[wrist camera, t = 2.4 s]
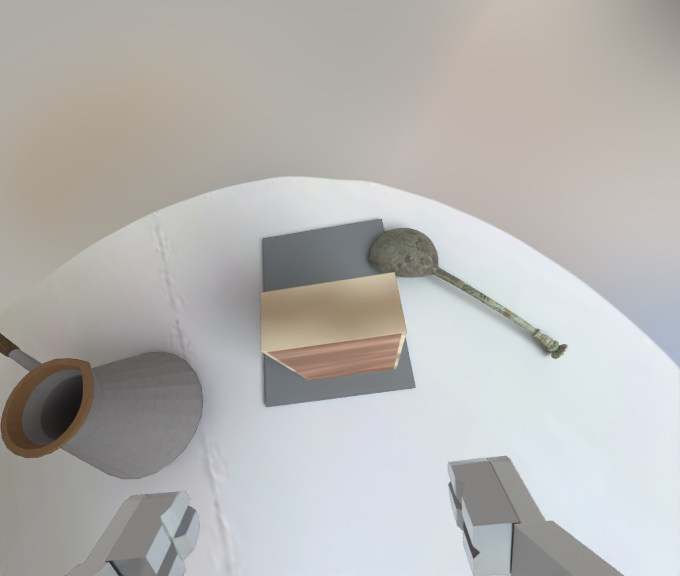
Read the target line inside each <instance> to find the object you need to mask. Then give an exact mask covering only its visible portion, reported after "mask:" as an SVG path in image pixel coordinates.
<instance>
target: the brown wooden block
mask: <svg viewBox="0 0 680 576" xmlns="http://www.w3.org/2000/svg"><path fill="white" fill-rule="evenodd" d="M406 333H407V330H406V325H405V320H404V315H403V310H402V305H401V300H400V295H399V290H398V286H397V281H396V276H395V272H393V273H386V274H380V275H373V276H367V277H360V278H354V279H347V280H340V281H334V282H327V283H321V284H314V285H308V286H301V287H295V288H288V289H281V290H275V291H268V292H262V293H261V352H262V353H264V354H266V355H267V356H269V357H271V358H272V359H274V360H276V361H277V362H279V363H280V364H282V365H284V366H285V367H287V368H289V369H290V370H292V371H294V372H295V373H297V374H298V375H300V376H302V377H303V378H305V379H307V380H308V381H309V380H316V379H324V378H331V377H339V376H346V375H354V374H361V373H369V372H376V371H384V370H391V369H396V368H397V365H398V361H399V358H400V354H401V351H402V347H403V343H404V340H405V336H406Z"/></svg>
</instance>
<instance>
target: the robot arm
mask: <svg viewBox="0 0 680 576" xmlns="http://www.w3.org/2000/svg"><path fill="white" fill-rule="evenodd" d="M448 474H449V477H450V480H451V482H450V483H449V484H448V486H449V495H450V501H451V506H452V510H453V514H454V517H455V520H456V524H457V526H458V527H459V528H460V529H461V530H462V531H463V546H464V549H465V552H466V555H467V558H468V561H469V564H470V567H471V570H472V574H473V576H503V575H511V576H624V575H623V574H621V573H620V572H619V571H617V570H616V569H615V568H614V567H612V566H611V565H610V564H608V563H607V562H606V561H604V560H603V559H602V558H601V557H599V556H598V555H597V554H595V553H594V552H593V551H591V550H590V549H589V548H588V547H586V546H585V545H584V544H582V543H581V542H580V541H578V540H577V539H576V538H574V537H573V536H572V535H571V534H569V533H568V532H567V531H565V530H564V529H563V528H561V527H560V526H559V525H558V524H556V523H555V522H554V521H546V520H545V519H544V517H543V515H542V513H541V512H540V510H539V508H538V506H537V505H536V503H535V501H534V500H533V498H532V496H531V494H530V493H529V491H528V489H527V487H526V486H525V484H524V482H523V480H522V479H521V477H520V475H519V473H518V472H517V470H516V468H515V466H514V465H513V463H512V461H511V459H509V458H508V457H507V456H499V457H491V458H478V459H469V460H461V461H453V462H448ZM190 500H191V499H190V497H189V495H188V493H187V491H182V492H169V493H156V494H144V495H134V496H130V497H129V498H128V499H127V500H126V501H125V502H124V503H123V505H122V506H121V508H120V509H119V511H118V512H117V514H116V515H115V517H114V518H113V520H112V521H111V523H110V524H109V526H108V528H107V529H106V531H105V532H104V534H103V535H102V537H101V538H100V540H99V541H98V543H97V544H96V546H95V547H94V549H93V551H92V552H91V554H90V555H89V557H88V558H87V560H86V561H85V563H84V564H81V565H77V566H76V567H75V568H74V569H73V570H71V571H70V572H69V573H68V574H67V575H66V576H184V573H185V571H186V569H185V563H184V560H185V559H186V558H187V557H188V556H189V554H190V553H191V552H192V551H193V550H194V547H195V544H196V542H197V539H198V534H199V527H200V522H199V516H198V513H197V511H196V510H195V509H194V508H192V507H190V506H189V505H188V504H189V502H190Z"/></svg>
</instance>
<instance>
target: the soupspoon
mask: <svg viewBox="0 0 680 576" xmlns="http://www.w3.org/2000/svg"><path fill="white" fill-rule="evenodd" d="M369 259H370V262H371V263H372V264H373V266H374V267H376V268H377V269H379V270H380V271H382V272H384V273H393V272H395V276H399V277H423V276H427V275H431V274H434V275H436V276H438V277H440V278H442V279H444V280H446V281H447V282H450V283H451V284H453V285H455V286H457V287H458V288H460V289H462V290H463V291H465V292H467V293H469V294H470V295H472V296H474V297H475V298H477V299H478V300H480V301H482V302H483V303H485V304H487V305H488V306H490V307H492V308H493V309H495V310H496V311H498V312H500V313H501V314H503V315H504V316H506V317H507V318H509V319H511V320H512V321H514V322H515V323H517V324H518V325H520V326H521V327H523V328H525V329H526V330H528V331H529V332H530V333H531V335H532V336H533V337H537V338H538V339H539V341H540V343H541V344H543V345H544V346H547V349H548V350H549V351H552V354H551V357H552V358H553V359H556V358H559V357H561V356H562V355H563V354H564V353H565V352H566V350H567V348H568V346H567V345H566V344H562V345H559V343H558V342H557V341H553V339H551V338H549V337H548V336H547V335H545V334H542V333H540V329H535V328H534V327H533V326H531V325H530V324H528V323H527V322H526V321H524V320H523V319H521V318H520V317H518V316H517V315H515V314H514V313H512V312H511V311H509V310H508V309H506V308H505V307H503V306H501V305H500V304H498V303H497V302H495V301H493V300H492V299H490V298H489V297H487V296H485V295H484V294H482V293H480V292H479V291H477V290H475V289H474V288H472V287H471V286H469V285H468V284H466V283H464V282H463V281H461V280H460V279H458V278H456V277H455V276H453V275H451V274H449V273H447V272H446V271H444V270H442V269H440V268H439V267H438V255H437V251H436V249H435V246H434V244H433V243H432V241H431V240H430V239H429V238H428V237H427V236H426V235H425V234H423V233H421V232H419V231H417V230H414V229H409V228H398V229H394V230H391V231H388V232H386V233H384V234H383V235H381V236H380V237H378V238H377V239H376V240H375V242H374V243H373V244H372V247H371V249H370V252H369Z"/></svg>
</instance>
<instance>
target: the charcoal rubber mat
mask: <svg viewBox="0 0 680 576" xmlns="http://www.w3.org/2000/svg"><path fill="white" fill-rule="evenodd" d="M383 234H384V228H383V223H382V219H379V220H373V221H366V222H360V223H354V224H348V225H342V226H336V227H330V228H324V229H318V230H311V231H305V232H299V233H293V234H287V235H281V236H275V237H269V238H263V268H264V292H268V291H275V290H281V289H288V288H295V287H301V286H308V285H314V284H321V283H327V282H334V281H340V280H347V279H354V278H360V277H367V276H373V275H380V274H386V273H384V272H382V271H380V270H379V269H377V268H376V267H374V266H373V264H372V263H371V262H370V259H369V252H370V249H371V247H372V244H373V243H374V242H375V240H376V239H377V238H378V237H380V236H381V235H383ZM411 388H416V387H415V382H414V377H413V372H412V367H411V362H410V357H409V352H408V347H407V342H406V337H405V340H404V343H403V347H402V351H401V354H400V358H399V361H398V365H397V368H396V369H391V370H384V371H376V372H369V373H361V374H354V375H346V376H339V377H331V378H324V379H316V380H309V381H308V380H307V379H305V378H303V377H302V376H300V375H298V374H297V373H295V372H294V371H292V370H290V369H289V368H287V367H285V366H284V365H282V364H280V363H279V362H277V361H276V360H274V359H272V358H271V357H269V356H267V355H266V354H265V391H266V407H272V406H280V405H288V404H295V403H303V402H311V401H318V400H326V399H334V398H342V397H349V396H357V395H365V394H373V393H380V392H388V391H396V390H404V389H411Z"/></svg>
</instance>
